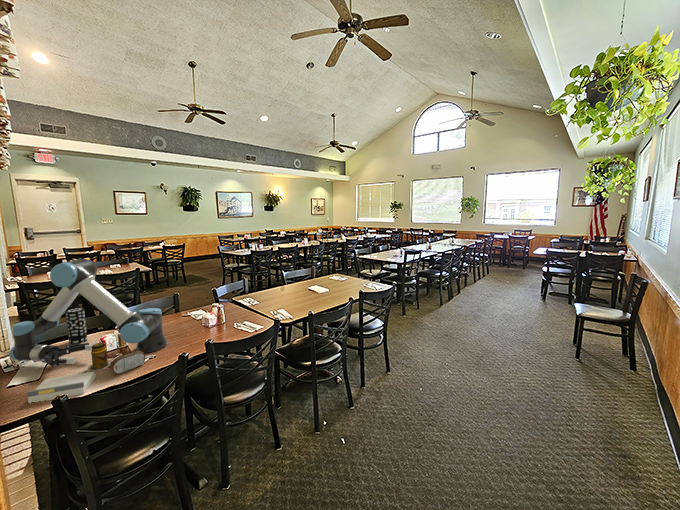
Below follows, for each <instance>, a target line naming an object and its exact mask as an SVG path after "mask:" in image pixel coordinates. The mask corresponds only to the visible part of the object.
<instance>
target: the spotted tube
mask: <svg viewBox="0 0 680 510" xmlns="http://www.w3.org/2000/svg"><path fill="white" fill-rule="evenodd" d="M64 314H65V320H66V329H67V336H68V345H76V344H83V343H87V341H88V332H87V324H86V323H87V322H86V315H85V308H84V307H75V308H70V309H67V310H66V311H65V312H64Z"/></svg>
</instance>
